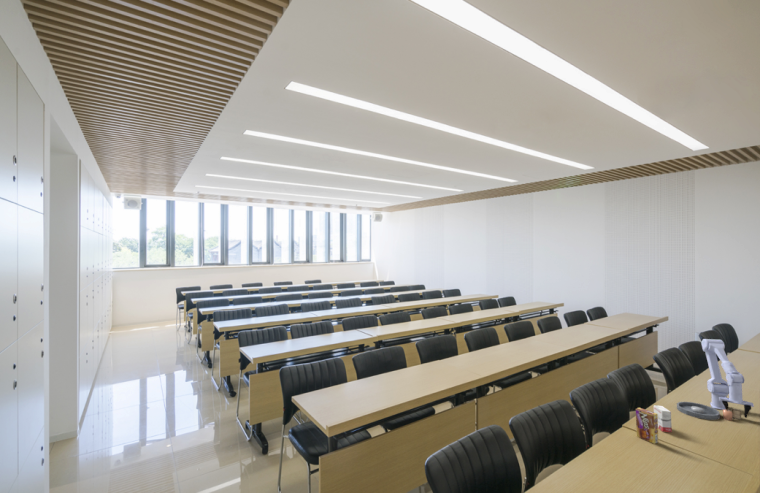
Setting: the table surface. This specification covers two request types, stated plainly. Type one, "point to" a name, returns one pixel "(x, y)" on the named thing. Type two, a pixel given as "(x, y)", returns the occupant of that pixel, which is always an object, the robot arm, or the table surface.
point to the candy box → (647, 425)
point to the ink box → (663, 418)
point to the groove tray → (698, 410)
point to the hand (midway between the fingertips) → (736, 415)
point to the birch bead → (736, 414)
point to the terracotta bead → (727, 414)
